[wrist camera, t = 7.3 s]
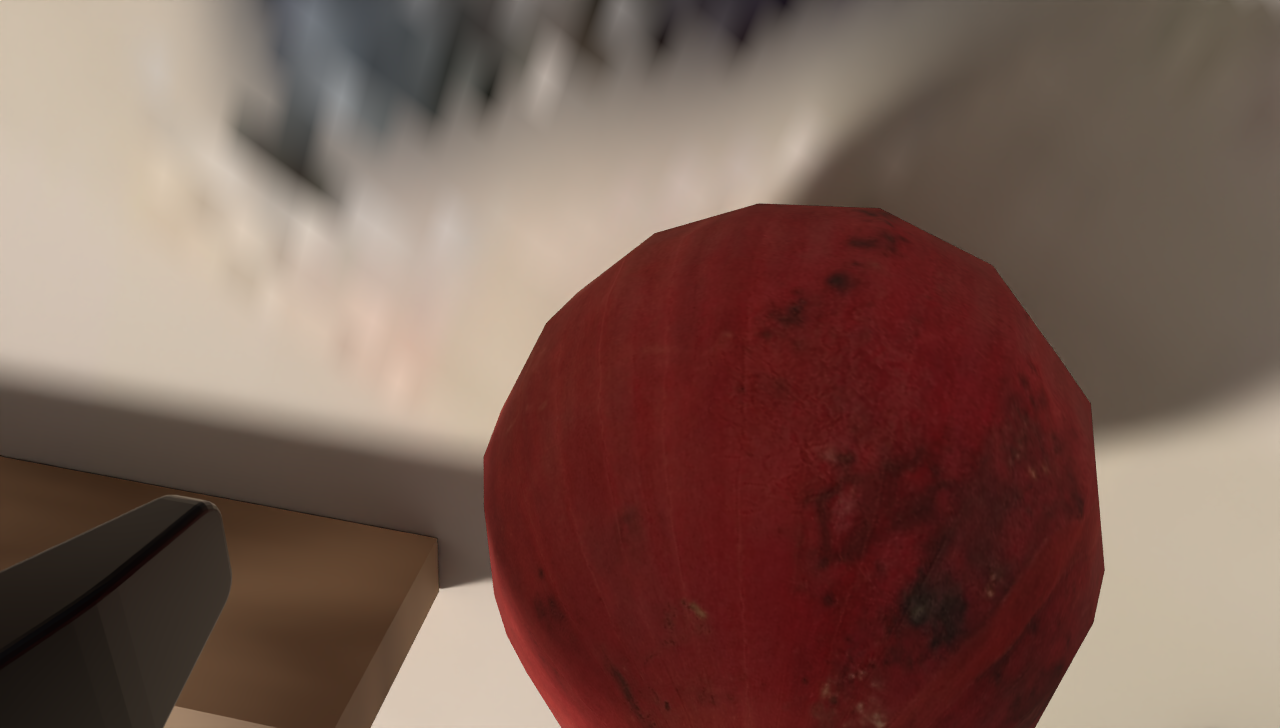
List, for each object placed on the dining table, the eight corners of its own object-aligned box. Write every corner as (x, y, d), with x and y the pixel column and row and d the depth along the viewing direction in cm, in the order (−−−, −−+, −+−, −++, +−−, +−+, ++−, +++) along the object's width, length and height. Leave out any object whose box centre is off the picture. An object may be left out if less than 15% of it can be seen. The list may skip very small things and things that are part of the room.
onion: (853, -1, 11) (855, 381, 4) (1122, 364, 12) (1458, 1083, 5) (503, 283, 13) (144, 799, 7) (761, 551, 15) (686, 1184, 8)
